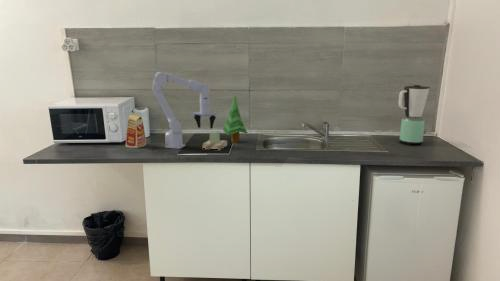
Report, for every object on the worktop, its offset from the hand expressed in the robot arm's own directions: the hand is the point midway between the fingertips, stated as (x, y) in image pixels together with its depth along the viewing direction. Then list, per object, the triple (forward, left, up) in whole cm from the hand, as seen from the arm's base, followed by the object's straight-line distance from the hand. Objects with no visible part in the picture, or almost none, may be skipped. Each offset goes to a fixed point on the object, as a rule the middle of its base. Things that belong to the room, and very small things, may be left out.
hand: (205, 127), depth 216 cm
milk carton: (-38, -14, -11) cm, 42 cm away
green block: (+8, -4, -7) cm, 11 cm away
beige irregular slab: (+8, -4, -10) cm, 13 cm away
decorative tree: (+15, +12, -11) cm, 22 cm away
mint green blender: (+118, +39, -11) cm, 124 cm away
